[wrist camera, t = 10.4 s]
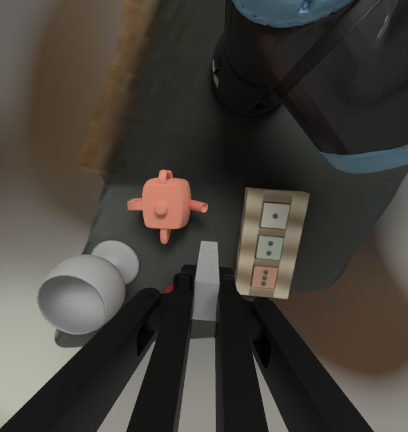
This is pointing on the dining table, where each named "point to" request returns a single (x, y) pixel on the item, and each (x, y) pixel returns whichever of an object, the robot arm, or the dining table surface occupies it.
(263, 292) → the key board
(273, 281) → the key three
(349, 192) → the dining table surface
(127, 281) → the chalice
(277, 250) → the key two
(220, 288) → the robot arm
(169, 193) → the teapot
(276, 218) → the key one
